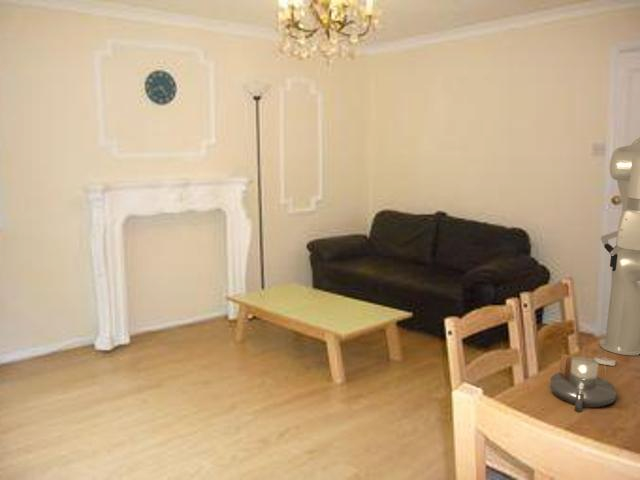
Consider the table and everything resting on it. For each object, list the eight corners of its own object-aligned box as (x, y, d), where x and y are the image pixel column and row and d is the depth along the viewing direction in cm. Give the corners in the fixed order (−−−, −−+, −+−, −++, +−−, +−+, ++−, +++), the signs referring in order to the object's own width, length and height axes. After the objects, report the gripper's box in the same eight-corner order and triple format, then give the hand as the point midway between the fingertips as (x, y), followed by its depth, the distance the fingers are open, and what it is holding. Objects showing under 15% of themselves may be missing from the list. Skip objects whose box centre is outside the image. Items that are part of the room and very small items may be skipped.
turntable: (537, 382, 152) (539, 357, 150) (584, 376, 156) (586, 351, 155) (579, 409, 138) (582, 381, 136) (629, 401, 142) (632, 374, 141)
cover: (571, 377, 151) (574, 355, 150) (597, 382, 148) (599, 360, 147) (568, 385, 146) (570, 362, 145) (594, 391, 143) (597, 368, 142)
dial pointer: (575, 405, 142) (577, 389, 141) (582, 407, 141) (584, 390, 140) (574, 411, 139) (576, 394, 138) (581, 412, 138) (583, 395, 138)
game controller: (611, 362, 171) (612, 353, 171) (626, 378, 160) (627, 369, 160) (591, 360, 172) (592, 352, 171) (604, 376, 161) (606, 368, 160)
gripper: (684, 206, 143) (674, 273, 147) (606, 200, 151) (598, 264, 155) (685, 210, 137) (675, 281, 140) (603, 204, 145) (596, 271, 149)
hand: (635, 272), depth 148 cm, fingers open, 9 cm apart
